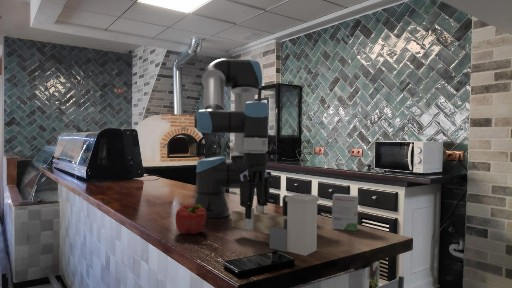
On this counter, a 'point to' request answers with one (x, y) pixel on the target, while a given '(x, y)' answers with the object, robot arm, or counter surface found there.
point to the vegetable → (190, 219)
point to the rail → (259, 220)
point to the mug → (284, 206)
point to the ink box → (344, 212)
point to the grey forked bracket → (297, 226)
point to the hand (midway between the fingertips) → (254, 227)
